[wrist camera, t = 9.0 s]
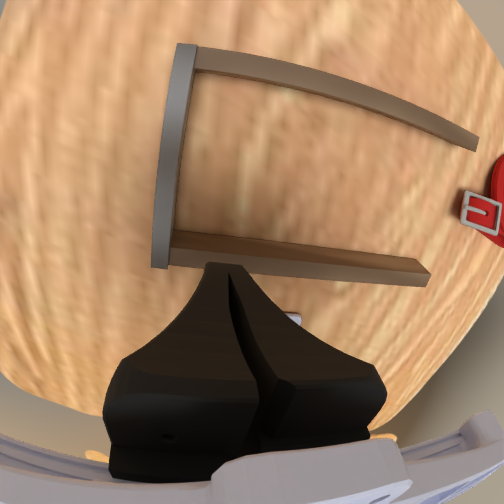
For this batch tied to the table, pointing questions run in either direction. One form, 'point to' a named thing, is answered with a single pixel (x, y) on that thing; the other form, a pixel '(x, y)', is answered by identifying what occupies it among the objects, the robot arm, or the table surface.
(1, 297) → the table surface
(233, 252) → the frame
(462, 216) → the tracker holder
